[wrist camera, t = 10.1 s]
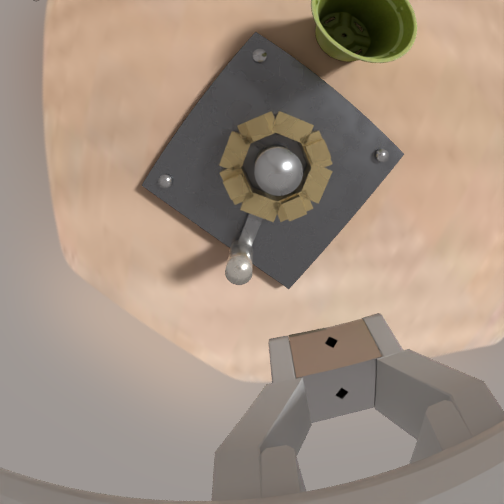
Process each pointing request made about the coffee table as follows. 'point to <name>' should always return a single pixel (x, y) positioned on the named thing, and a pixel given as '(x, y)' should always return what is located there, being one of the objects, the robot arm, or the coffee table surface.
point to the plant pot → (365, 29)
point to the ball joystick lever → (265, 203)
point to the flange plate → (247, 105)
